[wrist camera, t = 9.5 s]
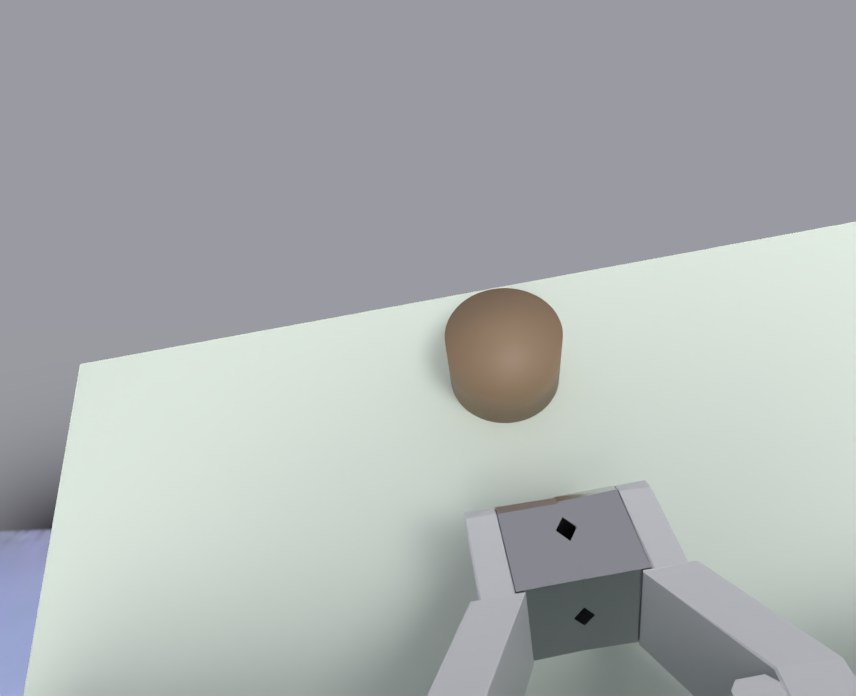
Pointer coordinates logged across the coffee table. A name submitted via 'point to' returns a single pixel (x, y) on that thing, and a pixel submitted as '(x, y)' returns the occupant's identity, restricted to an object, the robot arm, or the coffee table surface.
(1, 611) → the coffee table surface
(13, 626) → the coffee table surface
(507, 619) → the robot arm
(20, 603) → the coffee table surface
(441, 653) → the lid
